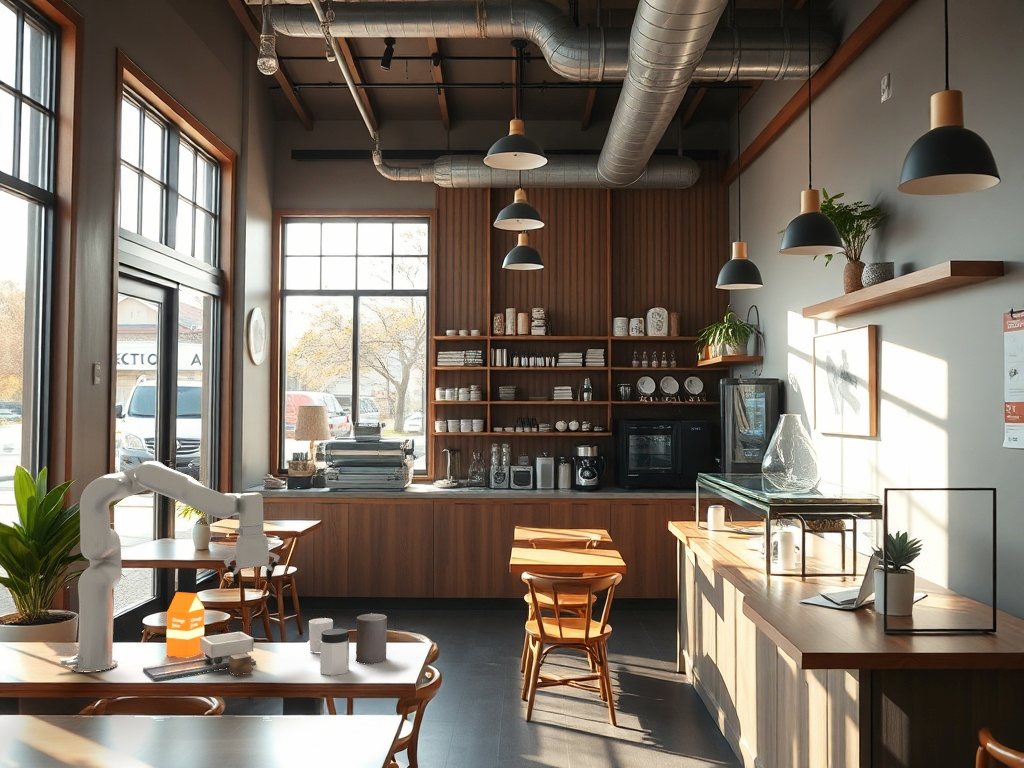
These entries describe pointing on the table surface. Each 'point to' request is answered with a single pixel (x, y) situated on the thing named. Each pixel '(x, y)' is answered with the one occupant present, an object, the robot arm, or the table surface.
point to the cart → (226, 645)
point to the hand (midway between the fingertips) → (252, 584)
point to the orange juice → (185, 625)
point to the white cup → (318, 632)
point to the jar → (334, 652)
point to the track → (187, 668)
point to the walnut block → (240, 663)
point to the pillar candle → (371, 638)
